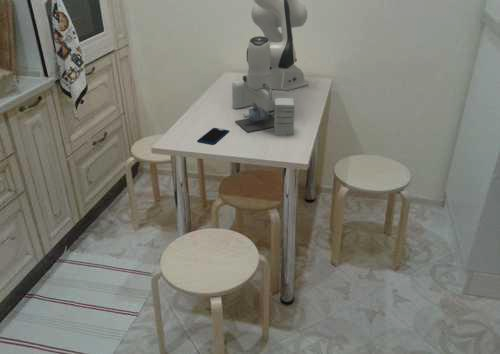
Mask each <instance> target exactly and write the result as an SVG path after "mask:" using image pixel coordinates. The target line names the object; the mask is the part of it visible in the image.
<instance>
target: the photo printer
mask: <svg viewBox="0 0 500 354" xmlns="http://www.w3.org/2000/svg"><path fill="white" fill-rule="evenodd" d="M231 85H232V87H231V89H232V90H231V91H232V94H231V96H232V97H231V99H232V108H233V109H236V110H237V109H243V108H247V107H251V106H253V105H252V101H251V100H249V99H248V98H246V97H245V95H244V81H243V78H240V79H237V80H235V81H233V83H232V84H231Z"/></svg>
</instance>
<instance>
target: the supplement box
mask: <svg viewBox="0 0 500 354" xmlns="http://www.w3.org/2000/svg"><path fill="white" fill-rule="evenodd" d="M274 99H275V109H274V115H273V117H274V128H273V130H274V135H275V136H294V128H295V127H294V123H295V122H294V121H295V102H294V97H293V98H292V97H274Z"/></svg>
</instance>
